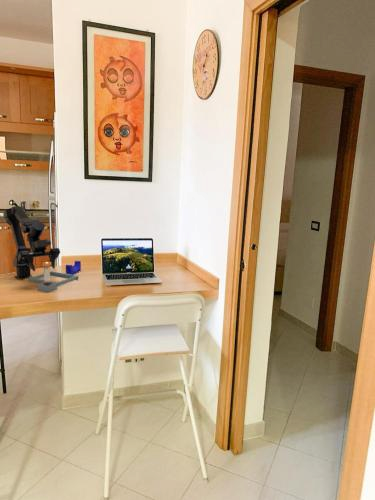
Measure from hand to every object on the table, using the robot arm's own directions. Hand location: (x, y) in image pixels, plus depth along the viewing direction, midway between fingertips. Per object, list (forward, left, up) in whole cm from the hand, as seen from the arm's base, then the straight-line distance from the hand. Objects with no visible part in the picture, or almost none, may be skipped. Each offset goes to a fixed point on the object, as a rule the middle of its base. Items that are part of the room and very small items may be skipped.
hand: (44, 269), depth 178 cm
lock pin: (+3, -1, -9) cm, 10 cm away
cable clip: (-10, +33, -11) cm, 37 cm away
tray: (-6, +14, -11) cm, 19 cm away
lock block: (+3, -1, -11) cm, 11 cm away
